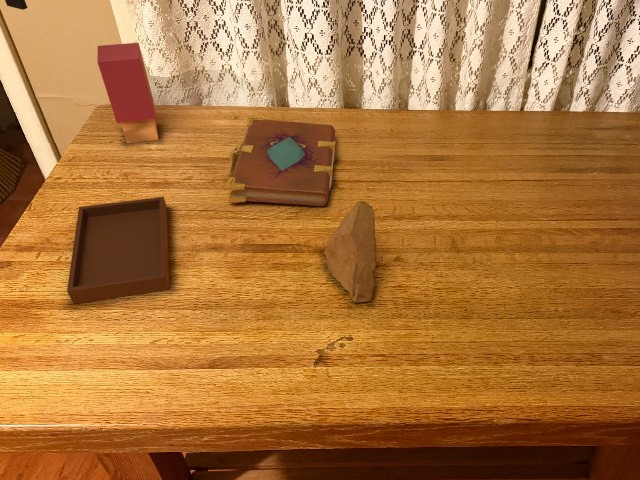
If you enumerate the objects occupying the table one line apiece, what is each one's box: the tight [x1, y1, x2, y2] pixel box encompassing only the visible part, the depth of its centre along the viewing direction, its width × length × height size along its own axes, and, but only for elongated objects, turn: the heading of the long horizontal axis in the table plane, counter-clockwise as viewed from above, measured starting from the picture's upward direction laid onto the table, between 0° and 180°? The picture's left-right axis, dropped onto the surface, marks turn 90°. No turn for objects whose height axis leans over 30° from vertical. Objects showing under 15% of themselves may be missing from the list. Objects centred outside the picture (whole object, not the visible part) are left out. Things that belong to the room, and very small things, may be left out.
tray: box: [66, 196, 171, 305], centre depth 78 cm, size 17×11×2 cm, turn 16°
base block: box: [120, 119, 159, 144], centre depth 99 cm, size 5×5×4 cm
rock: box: [323, 200, 377, 304], centre depth 75 cm, size 11×9×10 cm
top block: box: [96, 42, 157, 124], centre depth 94 cm, size 6×6×10 cm
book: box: [225, 115, 336, 207], centre depth 94 cm, size 16×25×5 cm, turn 1°
